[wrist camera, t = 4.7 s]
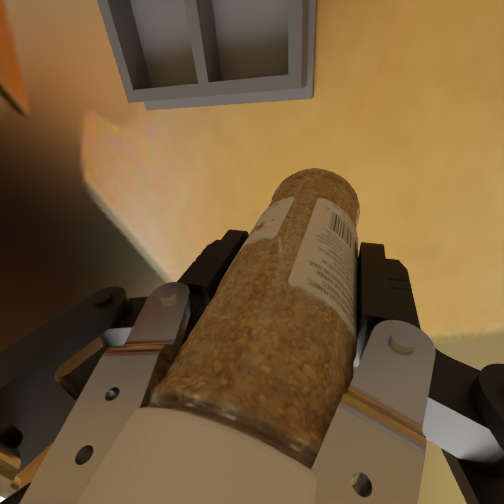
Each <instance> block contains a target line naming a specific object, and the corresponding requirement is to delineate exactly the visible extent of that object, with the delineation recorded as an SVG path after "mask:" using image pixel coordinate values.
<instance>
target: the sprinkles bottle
mask: <svg viewBox="0 0 504 504" xmlns="http://www.w3.org/2000/svg"><path fill="white" fill-rule="evenodd" d="M359 214H360V211H359V202H358V197H357V194H356V192H355V190H354V189H353V188H352V187H351V185H350V184H349V183H348V182H347V181H346V180H345V179H344V178H342V177H341V176H339V175H337V174H335V173H334V172H331V171H327V170H322V169H318V168H312V169H306V170H302V171H299V172H297V173H295V174H293V175H291V176H289V177H288V178H286V179H285V180H284V181H283V182H282V183H281V184H280V185H279V187H278V188H277V189H276V191H275V193H274V195H273V198H272V201H271V203H270V205H269V207H268V209H267V210H266V211H265V212H264V213H263V214H262V215H261V217H260V218H259V220H258V222H257V223H256V225H255V226H254V228H253V230H252V231H251V233H250V235H249V236H248V238H247V239H246V241H245V243H244V244H243V246H242V247H241V249H240V250H239V252H238V254H237V255H236V257H235V259H234V260H233V262H232V263H231V265H230V267H229V268H228V270H227V271H226V273H225V275H224V277H223V278H222V280H221V282H220V284H219V286H218V288H217V291H216V293H215V296H214V297H213V298H212V300H211V301H210V303H209V305H208V306H207V307H206V309H205V311H204V312H203V314H202V315H201V317H200V319H199V321H198V322H197V324H196V325H195V326H194V328H193V330H192V331H191V333H190V334H189V336H188V339H187V341H186V342H185V343H184V344H183V345H182V347H181V349H180V350H179V352H178V354H177V356H176V358H175V360H174V362H173V363H172V364H171V365H170V366H169V368H168V370H167V373H166V375H165V377H164V378H163V380H162V381H161V382H160V383H159V384H157V385H155V386H154V388H153V389H152V390H151V392H150V397H149V404H148V405H147V406H145V407H143V408H139V409H137V410H136V411H134V412H133V414H132V415H131V417H130V418H129V420H128V421H127V423H126V424H125V426H124V427H123V429H122V431H121V432H120V434H119V435H118V437H117V438H116V440H115V441H114V443H113V445H112V446H111V448H110V449H109V451H108V453H107V454H106V456H105V457H104V459H103V461H102V462H101V464H100V465H99V467H98V469H97V470H96V472H95V473H94V475H93V477H92V478H91V480H90V481H89V483H88V485H87V486H86V488H85V490H84V492H83V493H82V495H81V497H80V498H79V500H78V502H77V504H314V502H315V493H316V484H317V478H316V477H315V475H314V473H313V472H312V471H311V469H312V466H313V464H314V462H315V459H316V457H317V455H318V452H319V450H320V448H321V445H322V443H323V441H324V438H325V436H326V434H327V431H328V429H329V426H330V424H331V422H332V419H333V417H334V415H335V412H336V410H337V408H338V405H339V403H340V401H341V399H342V397H343V395H344V393H345V391H347V390H348V388H349V386H350V384H351V381H352V379H353V365H354V360H355V358H356V354H357V299H358V236H357V232H356V226H357V223H358V220H359ZM352 486H353V489H354V490H355V492H356V487H355V485H352Z"/></svg>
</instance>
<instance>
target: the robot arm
mask: <svg viewBox="0 0 504 504" xmlns="http://www.w3.org/2000/svg"><path fill="white" fill-rule="evenodd" d="M248 236H249V234H248V232H247V231H240V230H228V231H227V233H226V234H225V235H224V237H223V238H222V239H221V240H216V241H214V242H213V243H211V244H209V245H208V246H207V247H206V248H205V249H204V250H203V251H202V253H201V255H199V256H198V257H197V259H196V261H194V262H193V263H192V265H191V266H190V267H189V268H188V269H187V271H186V272H185V273H184V274H183V275H182V277H181V278H180V279H179V280H178V281H177V282H170V283H166V284H163V285H161V286H159V287H157V288H156V289H154V290H153V291H152V292H151V293H150V294H149V296H148V297H138V298H128V296H127V294H126V292H125V290H124V289H123V288H121V287H116V286H115V287H107V288H104V289H101V290H99V291H97V292H95V293H93V294H91V295H90V296H88V297H87V298H85V299H84V300H82V301H80V302H79V303H77V304H75V305H74V306H72V307H71V308H69V309H67V310H66V311H64V312H62V313H61V314H59V315H58V316H56V317H54V318H53V319H51V320H50V321H48V322H47V323H45V324H43V325H42V326H40V327H39V328H37V329H35V330H34V331H32V332H31V333H29V334H27V335H26V336H24V337H22V338H21V339H19V340H18V341H16V342H14V343H13V344H11V345H10V346H8V347H7V348H5V349H3V350H2V351H0V504H77V502H78V500H79V498H80V497H81V495H82V493H83V492H84V490H85V488H86V486H87V485H88V483H89V481H90V480H91V478H92V477H93V475H94V473H95V472H96V470H97V469H98V467H99V465H100V464H101V462H102V461H103V459H104V457H105V456H106V454H107V453H108V451H109V449H110V448H111V446H112V445H113V443H114V441H115V440H116V438H117V437H118V435H119V434H120V432H121V431H122V429H123V427H124V426H125V424H126V423H127V421H128V420H129V418H130V417H131V415H132V414H133V412H134V411H136V410H137V409H139V408H143V407H145V406H147V405H148V404H149V397H150V392H151V390H152V389H153V388H154V386H155V385H157V384H159V383H160V382H161V381H162V380H163V378H164V377H165V375H166V373H167V370H168V368H169V366H170V365H171V364H172V363H173V362H174V360H175V358H176V356H177V354H178V352H179V350H180V349H181V347H182V345H183V344H184V343H185V342H186V341H187V339H188V336H189V334H190V333H191V331H192V330H193V328H194V326H195V325H196V324H197V322H198V321H199V319H200V317H201V315H202V314H203V312H204V311H205V309H206V307H207V306H208V305H209V303H210V301H211V300H212V298H213V297H214V296H215V293H216V291H217V288H218V286H219V284H220V282H221V280H222V278H223V277H224V275H225V273H226V271H227V270H228V268H229V267H230V265H231V263H232V262H233V260H234V259H235V257H236V255H237V254H238V252H239V250H240V249H241V247H242V246H243V244H244V243H245V241H246V239H247V238H248ZM97 337H98V338H99V340H100V341H101V343H102V344H103V347H102V348H101V349H100V350H98V351H97V352H96V353H95V354H93V355H92V356H91V357H89V358H88V359H87V360H86V361H84V362H83V363H82V364H81V365H79V366H78V367H77V368H75V369H74V370H73V371H72V372H70V373H69V374H67V375H65V376H62V377H56V376H55V372H56V370H57V369H58V367H59V366H60V365H61V364H62V363H63V362H65V361H66V360H68V359H69V358H70V357H72V356H73V355H74V354H76V353H77V352H78V351H80V350H81V349H82V348H84V347H85V346H86V345H88V344H89V343H90V342H92V341H93V340H94V339H96V338H97ZM353 367H357V369H356V372H355V374H354V377H353V379H352V381H351V384H350V386H349V388H348V390H347V391H345V393H344V395H343V397H342V399H341V401H340V403H339V405H338V408H337V410H336V412H335V415H334V417H333V419H332V422H331V424H330V426H329V429H328V431H327V434H326V436H325V438H324V441H323V443H322V445H321V448H320V450H319V452H318V455H317V457H316V459H315V462H314V464H313V466H312V469H311V471H312V472H313V473H314V475H315V477H316V478H317V484H316V493H315V502H314V504H417V503H418V496H419V490H420V484H421V477H422V471H423V465H424V458H425V452H426V439H427V440H429V441H431V442H433V443H434V444H436V445H437V446H439V447H441V449H442V452H443V454H444V456H445V458H446V460H447V462H448V464H449V466H450V469H451V471H452V473H453V475H454V477H455V479H456V481H457V483H458V486H459V488H460V490H461V492H462V494H463V496H464V498H465V500H466V502H467V504H504V364H491V365H487V366H486V367H484V368H483V369H482V370H481V371H480V370H478V369H475V368H473V367H471V366H468V365H466V364H464V363H461V362H459V361H457V360H454V359H452V358H450V357H448V356H446V355H445V354H443V353H441V352H440V351H439V350H437V349H436V348H435V347H434V344H433V342H432V341H431V339H430V338H429V337H428V336H427V335H426V334H425V333H424V332H423V331H422V330H421V328H420V324H419V320H418V315H417V311H416V307H415V302H414V298H413V293H412V289H411V284H410V280H409V275H408V271H407V269H406V268H405V267H404V266H403V265H402V263H401V262H400V261H399V260H395V259H386V258H385V250H384V245H383V244H375V243H365V242H361V245H360V251H359V256H358V299H357V354H356V358H355V360H354V365H353ZM53 442H54V443H53ZM51 443H53V444H52V446H51V448H50V450H49V452H48V453H47V455H46V457H45V459H44V460H43V462H42V464H41V466H40V468H39V469H38V471H37V473H36V475H35V477H34V478H33V480H32V482H30V483H29V484H27V485H26V486H24V487H22V488H21V489H20V490H18V489H19V486H20V479H19V478H18V477H17V476H16V475H17V474H18V473H20V472H21V471H22V470H23V469H24V468H25V467H26V466H27V465H28V464H29V463H30V462H32V461H33V460H34V459H35V458H36V457H37V456H38V455H39V454H40V453H42V452H43V451H44V450H45V449H46V448H47V447H48V446H49V445H50V444H51ZM352 485H355V487H356V492H355V490H354V489H353V486H352Z"/></svg>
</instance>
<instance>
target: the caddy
mask: <svg viewBox="0 0 504 504" xmlns="http://www.w3.org/2000/svg"><path fill="white" fill-rule="evenodd" d="M97 1H98V4H99V8H100V11H101V14H102V18H103V21H104V24H105V27H106V31H107V34H108V37H109V40H110V44H111V47H112V50H113V53H114V57H115V60H116V63H117V67H118V70H119V73H120V76H121V79H122V83H123V86H124V89H125V93H126V96H127V99H128V102H129V103H130V102H143V101H144V104H145V107H146V110H157V109H171V108H185V107H200V106H214V105H228V104H242V103H257V102H271V101H285V100H299V99H312V98H313V92H314V66H315V41H316V15H317V0H97Z"/></svg>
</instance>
